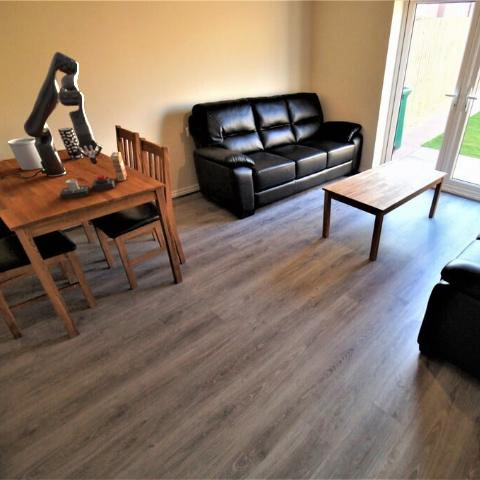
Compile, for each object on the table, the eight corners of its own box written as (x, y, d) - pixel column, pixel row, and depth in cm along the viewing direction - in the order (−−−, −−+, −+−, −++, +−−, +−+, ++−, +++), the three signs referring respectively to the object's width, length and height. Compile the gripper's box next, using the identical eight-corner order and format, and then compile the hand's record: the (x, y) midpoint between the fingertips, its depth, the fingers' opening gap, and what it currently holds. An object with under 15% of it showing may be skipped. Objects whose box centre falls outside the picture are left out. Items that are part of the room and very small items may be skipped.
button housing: (94, 191, 182) (90, 183, 180) (95, 185, 189) (92, 177, 187) (114, 188, 186) (111, 180, 183) (114, 183, 193) (112, 175, 190)
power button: (97, 181, 183) (96, 177, 182) (98, 178, 186) (97, 175, 185) (105, 180, 184) (104, 176, 183) (106, 177, 187) (105, 174, 186)
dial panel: (61, 200, 172) (59, 194, 171) (65, 193, 180) (62, 187, 178) (88, 196, 177) (86, 190, 175) (90, 189, 184) (88, 184, 183)
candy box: (125, 180, 196) (117, 155, 188) (118, 181, 195) (109, 156, 187) (127, 175, 204) (120, 151, 195) (120, 176, 202) (112, 152, 194)
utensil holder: (46, 161, 224) (34, 136, 215) (50, 166, 215) (38, 140, 206) (19, 166, 215) (5, 140, 206) (22, 172, 206) (8, 144, 197)
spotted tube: (73, 155, 235) (62, 127, 225) (85, 155, 236) (75, 127, 225) (67, 159, 228) (55, 130, 218) (79, 159, 229) (68, 130, 218)
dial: (68, 191, 174) (64, 182, 171) (70, 188, 178) (66, 179, 175) (78, 190, 176) (74, 181, 173) (80, 187, 179) (76, 178, 177)
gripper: (98, 129, 176) (109, 160, 185) (70, 131, 171) (82, 163, 180) (97, 132, 171) (108, 164, 180) (67, 134, 166) (80, 167, 175)
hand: (95, 163), depth 180 cm, fingers closed
